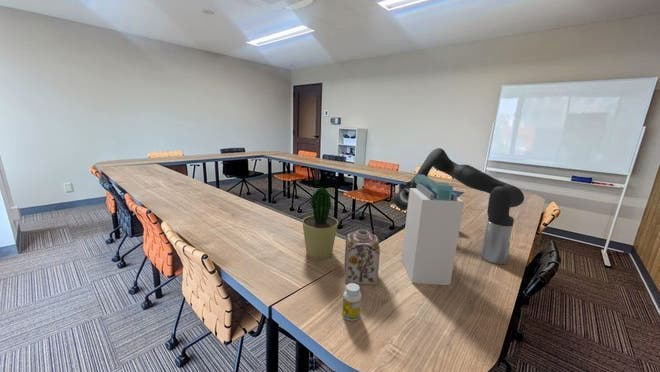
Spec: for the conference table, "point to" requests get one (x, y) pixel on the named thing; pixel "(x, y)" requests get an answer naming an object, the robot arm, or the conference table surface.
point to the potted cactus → (320, 226)
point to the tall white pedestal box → (431, 236)
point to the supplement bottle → (351, 302)
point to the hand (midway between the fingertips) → (420, 184)
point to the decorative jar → (361, 258)
